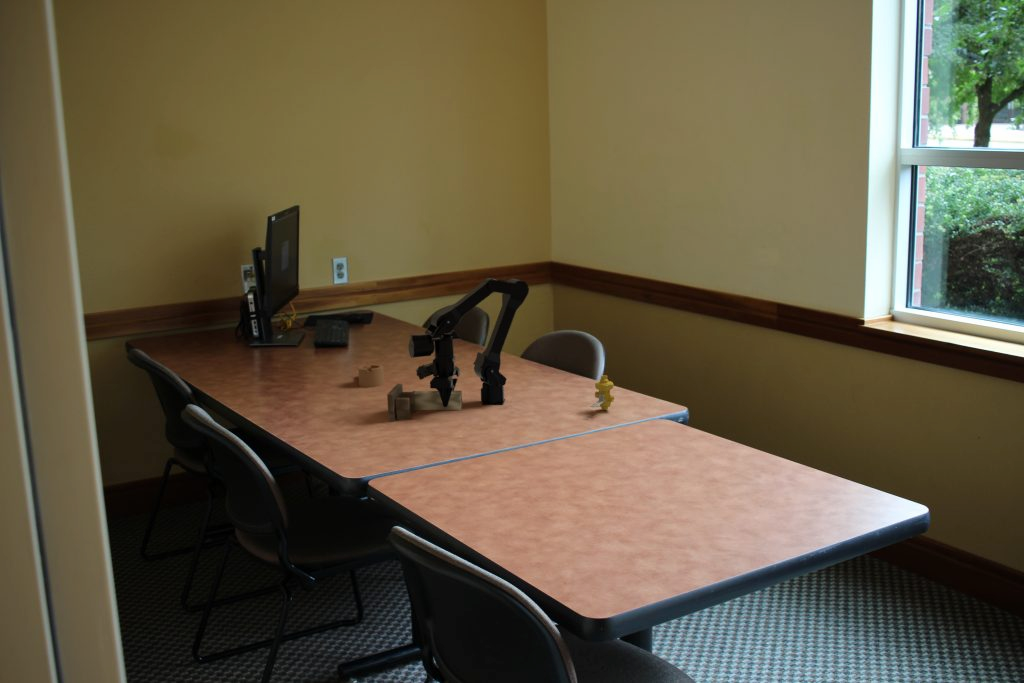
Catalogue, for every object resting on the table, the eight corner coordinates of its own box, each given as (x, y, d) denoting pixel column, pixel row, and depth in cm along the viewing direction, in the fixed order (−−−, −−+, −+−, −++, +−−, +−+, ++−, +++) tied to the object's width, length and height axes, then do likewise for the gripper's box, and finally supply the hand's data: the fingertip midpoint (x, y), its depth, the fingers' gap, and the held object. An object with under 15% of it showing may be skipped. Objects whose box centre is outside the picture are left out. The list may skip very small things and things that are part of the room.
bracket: (385, 389, 329) (383, 368, 328) (359, 390, 328) (358, 370, 327) (382, 377, 347) (381, 358, 345) (358, 379, 345) (357, 359, 344)
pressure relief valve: (616, 407, 294) (615, 374, 293) (602, 417, 284) (602, 383, 282) (598, 406, 297) (598, 373, 295) (584, 416, 286) (583, 381, 284)
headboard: (416, 409, 300) (415, 383, 298) (407, 421, 286) (406, 394, 285) (398, 409, 300) (397, 383, 299) (388, 421, 287) (387, 394, 285)
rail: (462, 406, 301) (461, 390, 300) (460, 409, 297) (459, 393, 297) (413, 407, 303) (412, 391, 302) (411, 410, 299) (410, 394, 298)
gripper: (423, 348, 307) (425, 397, 310) (411, 360, 289) (414, 413, 291) (459, 348, 306) (461, 397, 309) (449, 360, 287) (451, 412, 290)
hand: (446, 405), depth 300 cm, fingers closed on rail, 4 cm apart
